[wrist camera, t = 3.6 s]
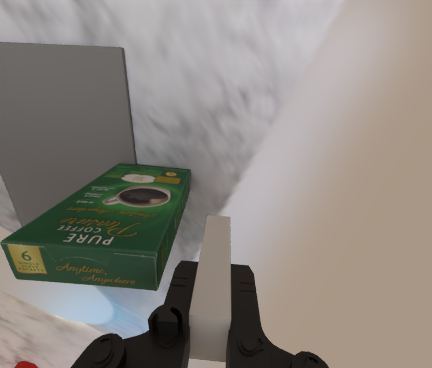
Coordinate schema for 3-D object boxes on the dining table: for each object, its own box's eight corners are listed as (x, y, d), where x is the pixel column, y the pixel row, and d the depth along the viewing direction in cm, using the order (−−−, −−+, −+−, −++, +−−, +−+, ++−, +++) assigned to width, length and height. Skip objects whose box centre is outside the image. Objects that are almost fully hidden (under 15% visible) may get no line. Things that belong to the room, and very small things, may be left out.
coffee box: (118, 185, 23) (8, 286, 11) (116, 161, 21) (-11, 242, 9) (189, 191, 23) (162, 296, 11) (191, 168, 22) (162, 255, 10)
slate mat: (33, 248, 28) (31, 250, 27) (-48, 40, 18) (-54, 39, 18) (147, 257, 27) (146, 259, 27) (123, 48, 18) (121, 47, 17)
